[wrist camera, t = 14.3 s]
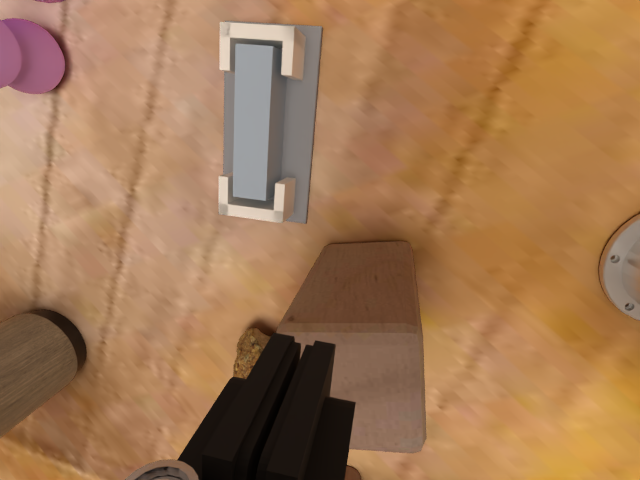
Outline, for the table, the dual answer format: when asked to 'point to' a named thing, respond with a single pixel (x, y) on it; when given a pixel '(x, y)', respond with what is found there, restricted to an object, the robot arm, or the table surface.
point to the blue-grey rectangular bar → (258, 121)
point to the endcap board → (298, 121)
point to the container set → (29, 56)
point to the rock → (249, 351)
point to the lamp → (35, 362)
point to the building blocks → (352, 474)
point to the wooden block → (368, 339)
